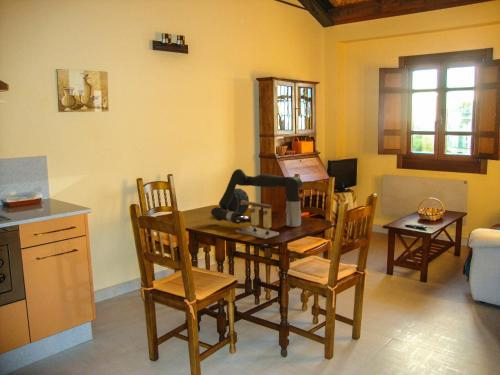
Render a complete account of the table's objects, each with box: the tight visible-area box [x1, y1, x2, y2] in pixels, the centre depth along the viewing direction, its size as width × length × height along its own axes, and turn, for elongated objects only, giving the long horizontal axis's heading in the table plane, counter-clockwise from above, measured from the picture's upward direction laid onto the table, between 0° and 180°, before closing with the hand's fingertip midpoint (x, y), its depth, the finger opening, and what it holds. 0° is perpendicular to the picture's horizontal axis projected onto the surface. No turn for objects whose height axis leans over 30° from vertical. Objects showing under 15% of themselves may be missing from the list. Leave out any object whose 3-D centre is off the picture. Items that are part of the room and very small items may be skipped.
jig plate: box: [235, 225, 280, 240], centre depth 299 cm, size 13×26×2 cm, turn 46°
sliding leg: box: [249, 206, 260, 231], centre depth 298 cm, size 5×4×16 cm
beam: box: [241, 200, 272, 209], centre depth 297 cm, size 3×24×2 cm, turn 46°
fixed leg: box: [262, 208, 272, 233], centre depth 291 cm, size 5×4×16 cm
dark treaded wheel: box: [227, 188, 250, 215], centre depth 355 cm, size 11×20×20 cm, turn 35°
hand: (253, 221), depth 300 cm, fingers closed
